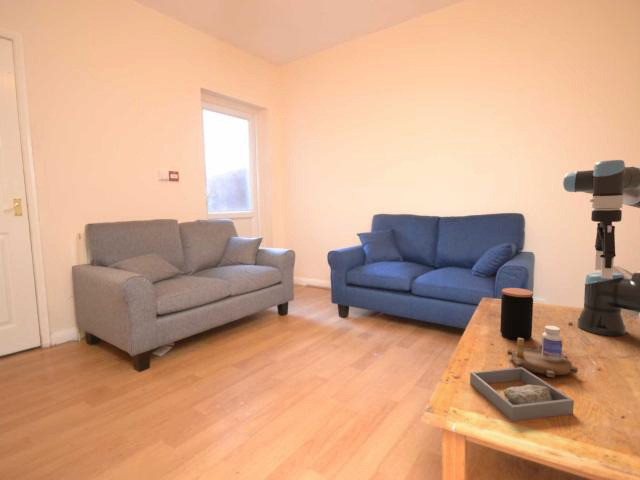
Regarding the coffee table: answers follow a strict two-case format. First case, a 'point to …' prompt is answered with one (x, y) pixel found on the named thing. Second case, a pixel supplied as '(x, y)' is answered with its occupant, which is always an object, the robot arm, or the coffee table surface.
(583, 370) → the coffee table surface
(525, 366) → the turntable
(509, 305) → the coffee jar
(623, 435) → the coffee table surface
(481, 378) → the stone tray
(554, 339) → the pill bottle
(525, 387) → the decorative stone
